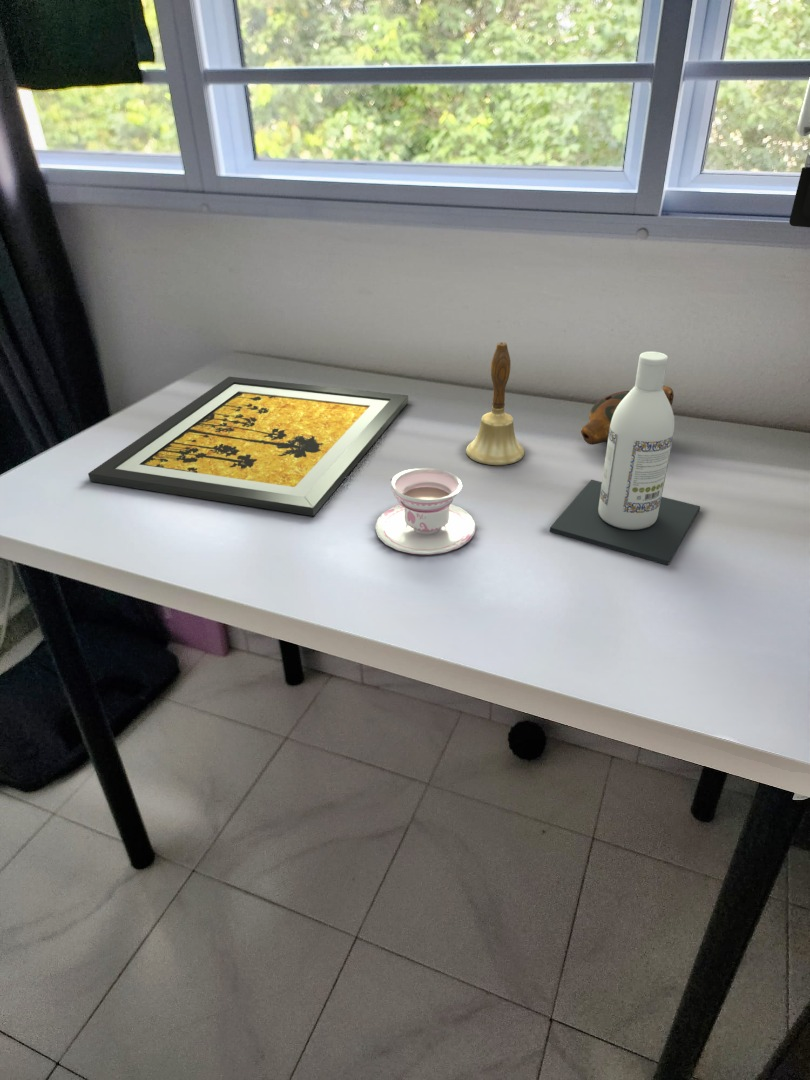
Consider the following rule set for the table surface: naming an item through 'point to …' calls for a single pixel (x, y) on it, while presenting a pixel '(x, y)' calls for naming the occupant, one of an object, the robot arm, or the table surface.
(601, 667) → the table surface
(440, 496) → the teacup
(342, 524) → the table surface
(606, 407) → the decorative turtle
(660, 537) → the mat
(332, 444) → the picture frame
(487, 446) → the hand bell
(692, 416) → the table surface
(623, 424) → the bath foam
